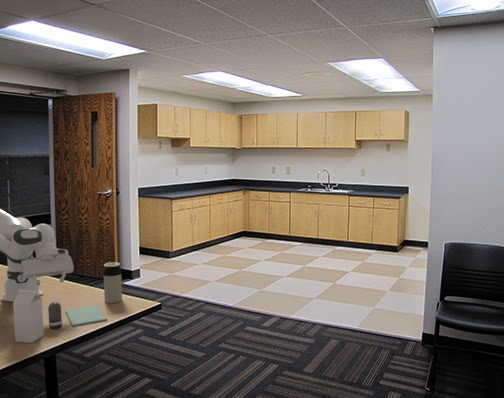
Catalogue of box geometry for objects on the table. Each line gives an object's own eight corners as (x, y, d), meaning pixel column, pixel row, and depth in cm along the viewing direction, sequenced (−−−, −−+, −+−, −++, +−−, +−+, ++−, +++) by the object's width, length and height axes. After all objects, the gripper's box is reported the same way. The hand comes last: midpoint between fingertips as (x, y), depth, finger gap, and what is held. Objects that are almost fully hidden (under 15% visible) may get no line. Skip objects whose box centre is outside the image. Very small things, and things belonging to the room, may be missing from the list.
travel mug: (104, 304, 216) (102, 266, 214) (105, 299, 223) (103, 262, 221) (122, 302, 218) (120, 265, 216) (122, 297, 225) (120, 261, 223)
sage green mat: (65, 311, 206) (65, 310, 205) (98, 306, 212) (98, 304, 212) (72, 326, 188) (72, 324, 188) (107, 320, 195) (107, 318, 195)
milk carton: (32, 343, 172) (29, 294, 170) (15, 342, 173) (12, 293, 171) (44, 335, 179) (41, 288, 177) (27, 334, 180) (24, 287, 178)
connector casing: (48, 326, 189) (47, 301, 188) (61, 323, 191) (60, 299, 190) (49, 330, 184) (48, 305, 183) (63, 327, 187) (61, 303, 186)
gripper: (20, 255, 197) (23, 282, 190) (71, 249, 207) (75, 276, 199) (21, 263, 201) (23, 290, 194) (70, 257, 211) (74, 283, 204)
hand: (50, 283), depth 197 cm, fingers open, 8 cm apart
